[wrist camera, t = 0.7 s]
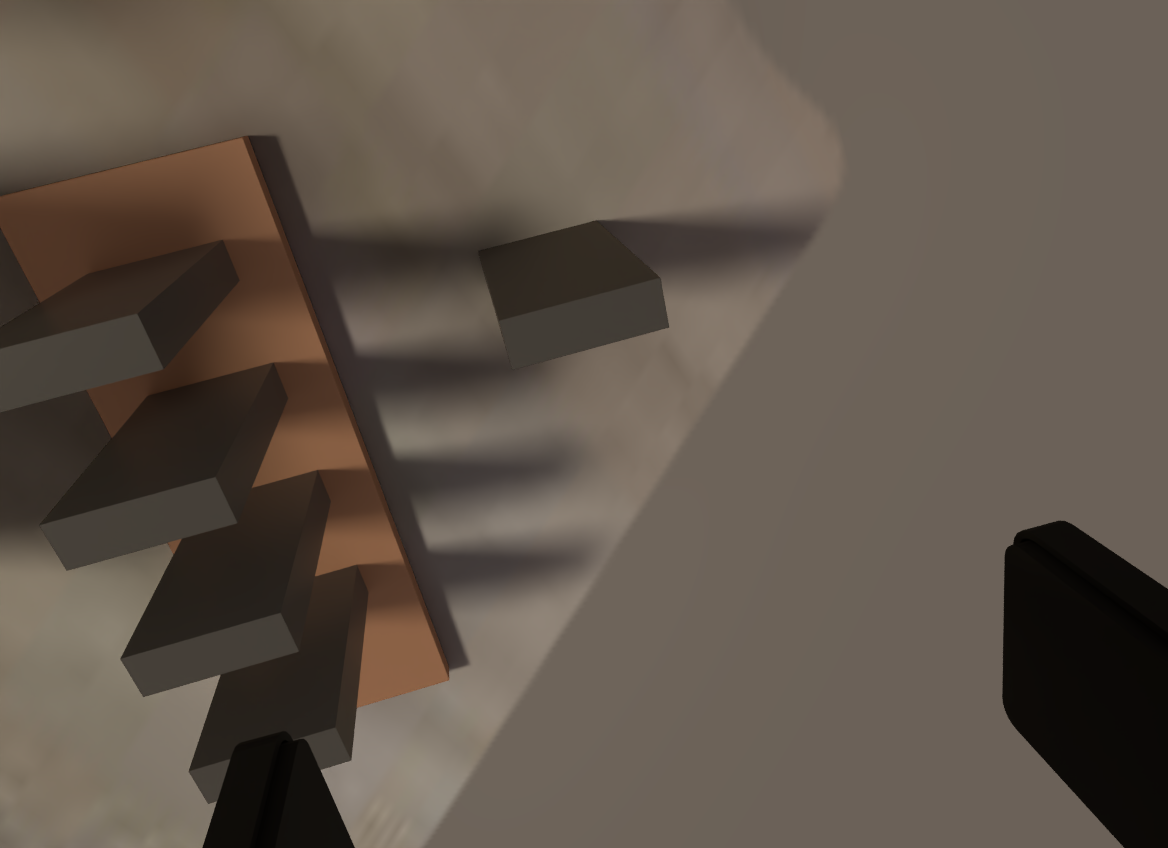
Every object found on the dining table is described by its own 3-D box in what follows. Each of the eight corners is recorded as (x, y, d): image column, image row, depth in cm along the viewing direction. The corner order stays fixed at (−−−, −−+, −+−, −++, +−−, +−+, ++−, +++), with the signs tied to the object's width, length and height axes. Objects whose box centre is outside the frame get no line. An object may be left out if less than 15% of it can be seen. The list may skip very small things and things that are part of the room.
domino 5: (478, 251, 33) (499, 321, 24) (596, 220, 33) (660, 277, 24) (488, 288, 34) (512, 370, 25) (604, 258, 34) (669, 327, 25)
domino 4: (247, 595, 36) (188, 771, 27) (357, 564, 37) (335, 727, 28) (260, 623, 37) (208, 803, 28) (368, 592, 37) (351, 760, 28)
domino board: (-2, 196, 29) (-15, 200, 28) (247, 135, 30) (242, 138, 29) (272, 718, 40) (268, 733, 39) (448, 666, 41) (449, 680, 40)
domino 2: (147, 395, 32) (38, 525, 23) (273, 362, 32) (215, 477, 23) (165, 431, 33) (66, 570, 24) (288, 398, 33) (237, 523, 24)
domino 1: (87, 273, 30) (-59, 364, 21) (222, 239, 30) (137, 313, 21) (107, 314, 30) (-26, 419, 21) (239, 280, 31) (163, 369, 22)
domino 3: (200, 502, 34) (120, 658, 25) (317, 469, 34) (280, 612, 25) (215, 533, 35) (143, 696, 26) (331, 501, 35) (299, 651, 26)
